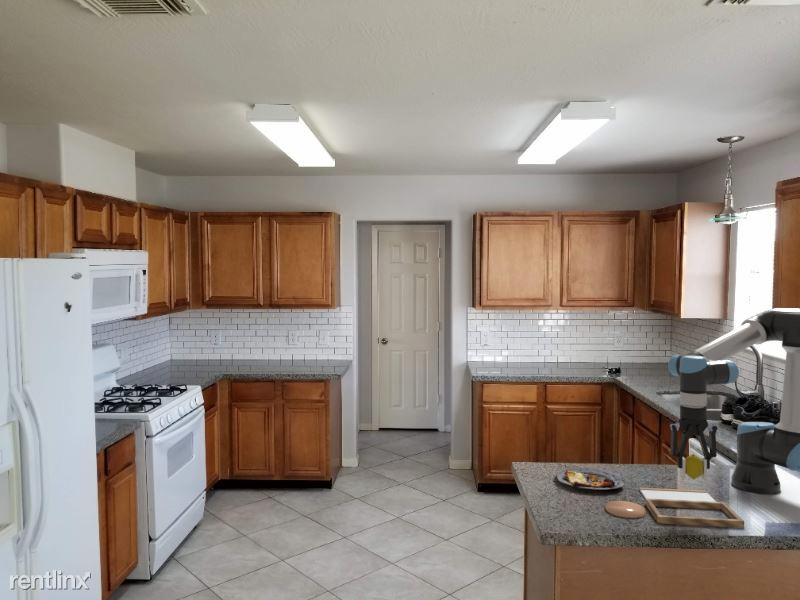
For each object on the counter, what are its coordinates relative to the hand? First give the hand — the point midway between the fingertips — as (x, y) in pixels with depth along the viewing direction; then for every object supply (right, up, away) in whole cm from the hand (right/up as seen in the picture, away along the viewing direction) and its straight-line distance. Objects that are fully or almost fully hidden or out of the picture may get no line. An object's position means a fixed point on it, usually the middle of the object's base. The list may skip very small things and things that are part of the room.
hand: (693, 478), depth 185 cm
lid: (+2, -11, +15) cm, 19 cm away
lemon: (0, -1, 0) cm, 1 cm away
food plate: (-23, -12, +31) cm, 40 cm away
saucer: (-20, -12, +4) cm, 23 cm away
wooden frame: (0, -12, 0) cm, 12 cm away
